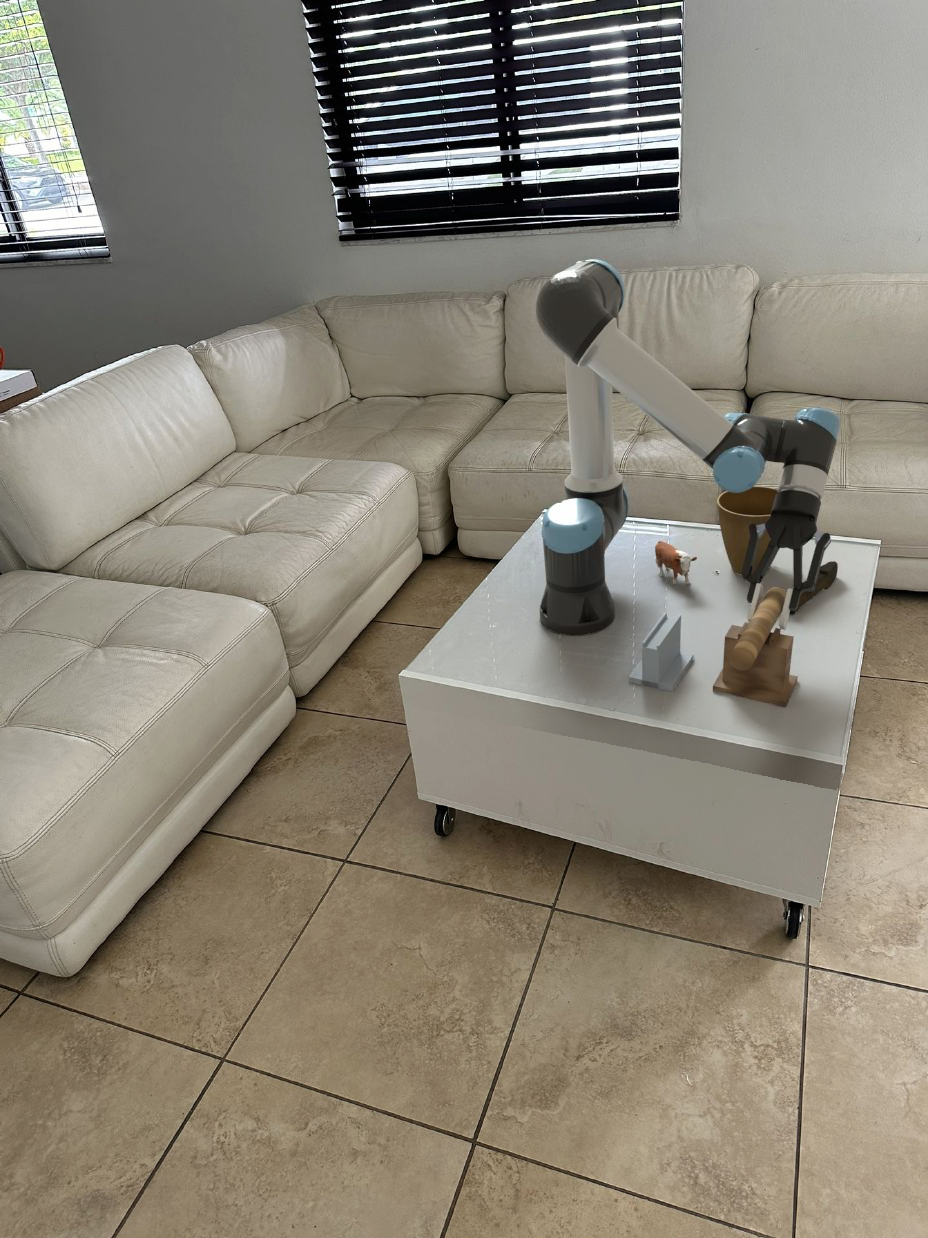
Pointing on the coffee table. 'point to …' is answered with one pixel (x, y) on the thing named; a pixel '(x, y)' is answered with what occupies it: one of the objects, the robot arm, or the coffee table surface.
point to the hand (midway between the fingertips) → (766, 624)
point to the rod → (758, 629)
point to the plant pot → (744, 522)
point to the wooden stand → (759, 670)
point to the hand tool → (819, 583)
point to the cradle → (662, 656)
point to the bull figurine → (673, 561)
